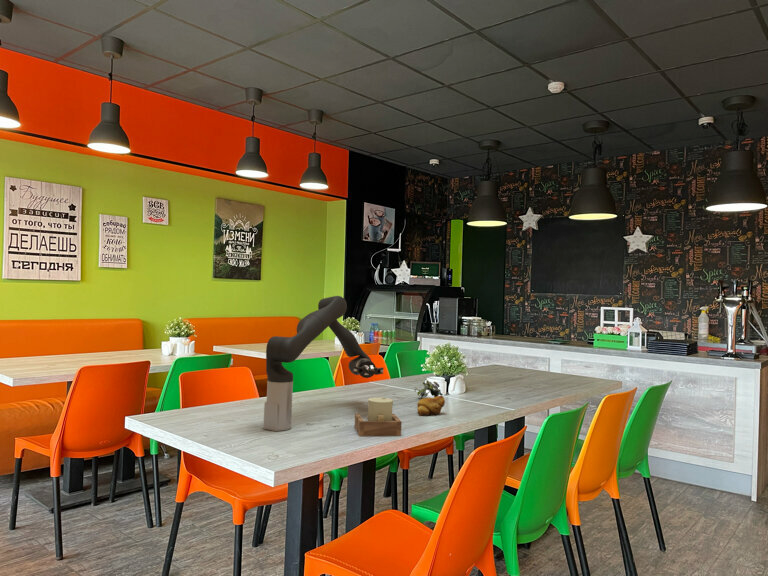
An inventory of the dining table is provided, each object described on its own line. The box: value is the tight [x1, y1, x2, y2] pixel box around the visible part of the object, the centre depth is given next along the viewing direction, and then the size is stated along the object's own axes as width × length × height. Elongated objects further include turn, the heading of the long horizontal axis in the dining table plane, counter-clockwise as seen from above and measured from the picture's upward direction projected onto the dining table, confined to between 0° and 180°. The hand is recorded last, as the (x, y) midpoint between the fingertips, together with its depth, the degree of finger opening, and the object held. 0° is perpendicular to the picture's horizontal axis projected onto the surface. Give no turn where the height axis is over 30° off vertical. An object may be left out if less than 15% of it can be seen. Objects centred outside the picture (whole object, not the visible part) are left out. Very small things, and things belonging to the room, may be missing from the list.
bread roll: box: [416, 395, 446, 416], centre depth 237 cm, size 13×10×8 cm
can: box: [367, 397, 394, 421], centre depth 203 cm, size 9×9×12 cm
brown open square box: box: [354, 413, 403, 437], centre depth 202 cm, size 14×15×7 cm
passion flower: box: [414, 379, 443, 399], centre depth 269 cm, size 11×11×12 cm
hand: (372, 372), depth 218 cm, fingers closed
